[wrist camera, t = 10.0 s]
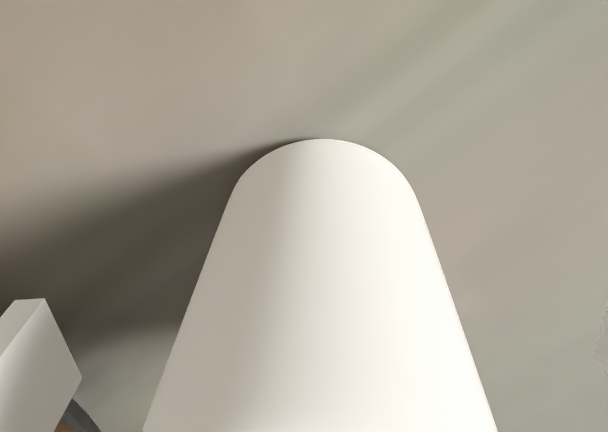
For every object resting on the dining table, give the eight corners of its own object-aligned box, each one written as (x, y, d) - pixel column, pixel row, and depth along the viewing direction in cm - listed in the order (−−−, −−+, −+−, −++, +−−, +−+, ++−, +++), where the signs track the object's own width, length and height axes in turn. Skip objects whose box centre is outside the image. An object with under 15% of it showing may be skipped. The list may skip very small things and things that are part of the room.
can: (265, 100, 15) (116, 498, 4) (456, 178, 16) (714, 658, 5) (203, 264, 18) (27, 732, 7) (367, 320, 19) (417, 804, 8)
